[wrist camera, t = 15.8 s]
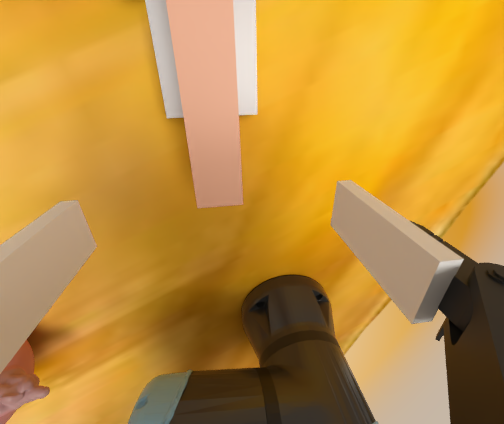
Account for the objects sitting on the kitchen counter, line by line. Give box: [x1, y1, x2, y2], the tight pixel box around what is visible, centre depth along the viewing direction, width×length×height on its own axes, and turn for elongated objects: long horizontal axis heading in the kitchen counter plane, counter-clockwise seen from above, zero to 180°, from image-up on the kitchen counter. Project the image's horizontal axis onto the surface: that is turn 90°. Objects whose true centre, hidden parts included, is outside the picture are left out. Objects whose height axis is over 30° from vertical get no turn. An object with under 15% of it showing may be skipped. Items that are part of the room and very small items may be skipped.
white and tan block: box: [145, 0, 257, 118], centre depth 21 cm, size 8×8×5 cm
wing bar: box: [166, 0, 243, 208], centre depth 17 cm, size 4×22×4 cm, turn 2°
